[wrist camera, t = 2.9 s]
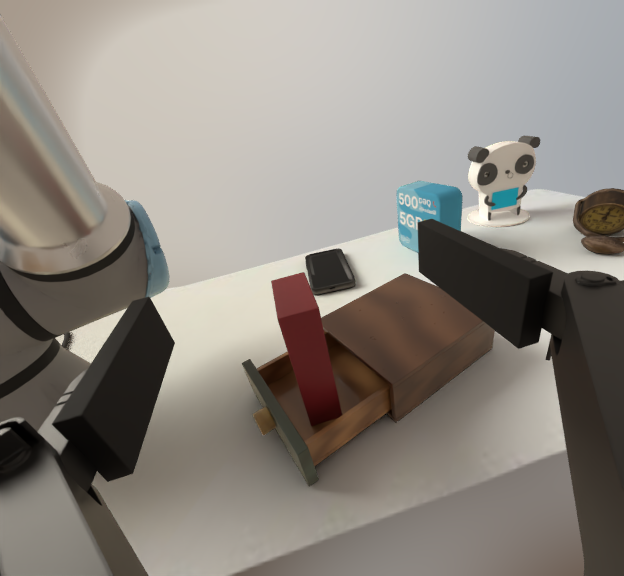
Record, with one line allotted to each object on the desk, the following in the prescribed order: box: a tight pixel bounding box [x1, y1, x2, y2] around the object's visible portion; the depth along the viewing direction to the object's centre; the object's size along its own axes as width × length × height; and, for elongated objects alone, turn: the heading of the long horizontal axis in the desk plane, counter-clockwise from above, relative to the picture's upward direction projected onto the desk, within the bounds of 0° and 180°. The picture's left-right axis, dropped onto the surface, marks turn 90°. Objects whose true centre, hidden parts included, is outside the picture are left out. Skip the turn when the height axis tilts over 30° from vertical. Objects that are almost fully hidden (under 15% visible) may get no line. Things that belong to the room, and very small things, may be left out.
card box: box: [271, 272, 342, 426], centre depth 29 cm, size 6×3×13 cm, turn 11°
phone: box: [305, 249, 355, 295], centre depth 58 cm, size 8×1×15 cm
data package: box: [397, 181, 462, 252], centre depth 56 cm, size 12×4×12 cm, turn 21°
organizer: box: [321, 273, 495, 422], centre depth 36 cm, size 15×13×5 cm
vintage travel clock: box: [573, 188, 624, 254], centre depth 48 cm, size 7×13×10 cm
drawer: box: [242, 331, 391, 486], centre depth 32 cm, size 17×13×5 cm
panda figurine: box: [468, 136, 540, 227], centre depth 61 cm, size 12×11×15 cm
